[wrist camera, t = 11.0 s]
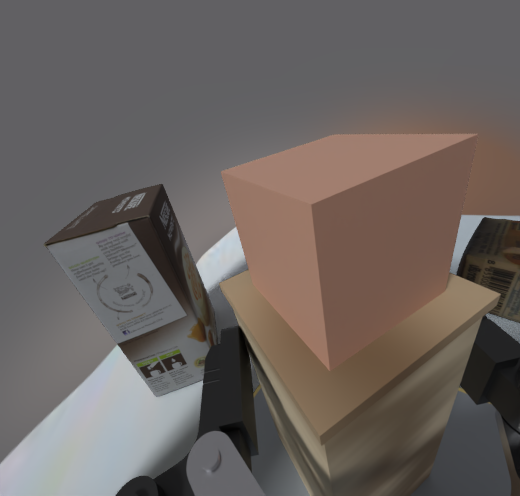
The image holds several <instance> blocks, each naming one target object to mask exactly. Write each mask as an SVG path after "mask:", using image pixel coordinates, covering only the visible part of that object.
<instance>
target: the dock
mask: <svg viewBox="0 0 520 496" xmlns="http://www.w3.org/2000/svg"><path fill="white" fill-rule="evenodd" d="M253 397H254V408H255V419H256V430H257V441H258V452H259V455H255V456H251V465H252V475H253V476H254V478H255V479H256V481H257V483H258V484H259V486H260V487H261V489H262V491H263V492H264V494H265V495H266V496H310V495H309V493H308V491H307V489H306V487H305V485H304V483H303V481H302V479H301V477H300V476H299V474H298V472H297V470H296V468H295V466H294V464H293V462H292V460H291V458H290V456H289V455H288V453H287V451H286V449H285V447H284V445H283V443H282V441H281V439H280V437H279V435H278V432H277V430H276V427H275V424H274V421H273V419H272V416H271V413H270V410H269V407H268V405H267V402H266V399H265V396H264V394H263V391H262V388H261V385H259V386H258V387H257V389H256V390H255V391H254V393H253ZM495 410H496V408H495V407H494V406H493V405H492V404H491V403H490V402H488V403H484V404H480V405H476V404H475V403H474V401H473V400H472V399H471V398H470V397H469V395H468V394H467V393H466V392H465V391H464V389H462V388H459V389H458V392H457V395H456V398H455V401H454V404H453V407H452V410H451V413H450V416H449V419H448V422H447V425H446V428H445V431H444V434H443V437H442V440H441V443H440V446H439V449H438V452H437V455H436V458H435V461H434V464H433V467H432V470H431V473H430V476H429V477H428V478H427V479H426V480H425V481H424V482H423V483H422V484H421V485H420V486H419V487H418V488H417V489H416V490H415V491H414V492H413V493H412V494H411V495H410V496H511V479H510V475H509V471H508V467H507V463H506V459H505V455H504V451H503V447H502V443H501V438H500V434H499V430H498V426H497V422H496V418H495Z"/></svg>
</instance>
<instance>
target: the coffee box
mask: <svg viewBox="0 0 520 496" xmlns="http://www.w3.org/2000/svg"><path fill="white" fill-rule="evenodd" d="M44 246H45V247H46V248H47V249H48V250H49V251H50V253H51V254H52V255H53V257H54V258H55V260H56V261H57V262H58V264H59V265H60V266H61V268H62V269H63V271H64V272H65V273H66V275H67V276H68V277H69V279H70V280H71V281H72V283H73V284H74V286H75V287H76V289H77V290H78V291H79V293H80V294H81V295H82V297H83V298H84V299H85V301H86V302H87V303H88V305H89V306H90V308H91V309H92V310H93V312H94V313H95V314H96V316H97V317H98V318H99V320H100V321H101V323H102V324H103V326H104V327H105V328H106V330H107V331H108V332H109V334H110V335H111V337H112V338H113V339H114V341H115V342H116V343H117V344H118V346H119V347H120V348H121V350H122V351H123V353H124V354H125V355H126V357H127V358H128V360H129V361H130V362H131V363H132V365H133V366H134V368H135V369H136V370H137V372H138V373H139V375H140V376H141V377H142V379H143V380H144V381H145V383H146V384H147V385H148V387H149V388H150V389H151V391H152V392H153V394H154V395H155V396H156V397H158V396H161V395H164V394H166V393H169V392H172V391H174V390H177V389H180V388H182V387H185V386H188V385H190V384H193V383H196V382H198V381H201V380H203V378H204V366H205V358H206V356H207V354H208V351H209V349H210V347H211V346H213V345H217V344H218V343H217V333H216V324H215V314H214V309H213V306H212V304H211V301H210V299H209V296H208V294H207V291H206V289H205V287H204V284H203V282H202V279H201V277H200V274H199V272H198V269H197V267H196V265H195V262H194V260H193V258H192V255H191V252H190V250H189V248H188V245H187V243H186V240H185V238H184V235H183V233H182V231H181V228H180V226H179V223H178V221H177V218H176V216H175V213H174V211H173V208H172V206H171V204H170V201H169V199H168V196H167V194H166V191H165V189H164V187H163V184H159V185H155V186H151V187H147V188H143V189H139V190H136V191H132V192H129V193H125V194H122V195H118V196H116V197H114V198H111V199H106V200H103V201H99V202H96V203H94V204H93V205H92V206H91V207H90V208H88V209H87V210H86V211H84V212H83V213H82V214H81V215H79V216H78V217H77V218H76V219H74V220H73V221H72V222H71V223H70V224H68V225H67V226H66V227H64V228H63V229H62V230H61V231H59V232H58V233H57V234H56V235H54V236H53V237H52V238H50V239H49V240H48V241H47V242H45V243H44Z"/></svg>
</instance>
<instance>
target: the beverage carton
mask: <svg viewBox="0 0 520 496" xmlns="http://www.w3.org/2000/svg"><path fill="white" fill-rule="evenodd" d="M456 276H459V277H461V278H464V279H466V280H468V281H471V282H473V283H476V284H478V285H480V286H483V287H485V288H488V289H490V290H492V291H495V292H497V293H500V294H501V295H500V298H499V300H498V303H497V306H495V307H494V308H493V309H492V310H490V311H489V312H488V313H490V314H493V315H497V316H500V317H503V318H506V319H509V320H513V321H516V322H519V323H520V221H513V220H507V219H492V218H487V217H484V218H483V219H482V221H481V222H480V224H479V226H478V227H477V229H476V230H475V232H474V234H473V235H472V237H471V239H470V241H469V243H468V245H467V247H466V249H465V251H464V253H463V256H462V258H461V261H460V264H459V267H458V271H457V275H456Z"/></svg>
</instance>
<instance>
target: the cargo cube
mask: <svg viewBox="0 0 520 496" xmlns="http://www.w3.org/2000/svg"><path fill="white" fill-rule="evenodd" d="M477 138H478V134H350V135H349V134H344V135H343V134H339V135H338V134H335V135H331V136H328V137H325V138H322V139H319V140H316V141H313V142H310V143H307V144H303V145H300V146H298V147H294V148H292V149H288V150H285V151H282V152H279V153H276V154H273V155H270V156H267V157H264V158H261V159H257V160H254V161H252V162H248V163H245V164H242V165H239V166H236V167H233V168H230V169H227V170H224V171H221V174H222V178H223V181H224V185H225V188H226V192H227V195H228V198H229V202H230V206H231V209H232V212H233V216H234V220H235V223H236V227H237V230H238V234H239V237H240V241H241V244H242V248H243V251H244V255H245V258H246V262H247V265H248V269H249V272H250V276H251V279H252V283H253V285H254V286H255V287H256V288H257V289H258V291H259V292H260V293H261V294H262V295H263V296H264V297H265V298H266V300H267V301H268V302H269V303H270V304H271V305H272V306H273V307H274V309H275V310H276V311H277V312H278V313H279V314H280V315H281V317H282V318H283V319H284V320H285V321H286V322H287V323H288V324H289V326H290V327H291V328H292V329H293V330H294V331H295V332H296V333H297V335H298V336H299V337H300V338H301V339H302V340H303V341H304V343H305V344H306V345H307V346H308V347H309V348H310V349H311V350H312V352H313V353H314V354H315V355H316V356H317V357H318V358H319V359H320V361H321V362H322V363H323V364H324V365H325V366H326V367H327V369H328V370H329V371H331V370H333V369H334V368H336V367H337V366H338V365H340V364H341V363H343V362H344V361H346V360H347V359H348V358H350V357H351V356H353V355H354V354H356V353H357V352H359V351H360V350H361V349H363V348H364V347H366V346H367V345H369V344H370V343H372V342H373V341H374V340H376V339H377V338H379V337H380V336H382V335H383V334H384V333H386V332H387V331H389V330H390V329H392V328H393V327H395V326H396V325H397V324H399V323H400V322H402V321H403V320H405V319H406V318H407V317H409V316H410V315H412V314H413V313H415V312H416V311H418V310H419V309H420V308H422V307H423V306H425V305H426V304H428V303H429V302H431V301H432V300H433V299H435V298H436V297H438V296H439V295H441V294H442V293H443V292H445V289H446V285H447V280H448V275H449V271H450V266H451V261H452V256H453V252H454V247H455V242H456V238H457V233H458V228H459V224H460V219H461V214H462V209H463V205H464V200H465V195H466V190H467V186H468V181H469V177H470V172H471V167H472V162H473V158H474V153H475V148H476V144H477Z"/></svg>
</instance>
